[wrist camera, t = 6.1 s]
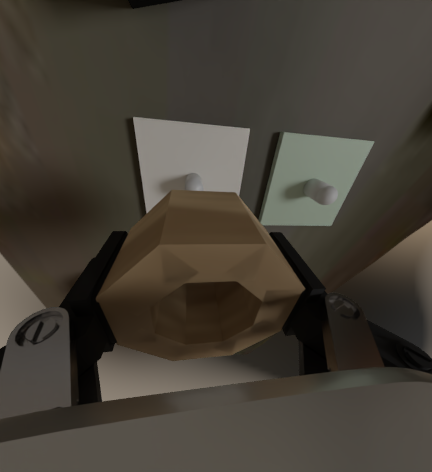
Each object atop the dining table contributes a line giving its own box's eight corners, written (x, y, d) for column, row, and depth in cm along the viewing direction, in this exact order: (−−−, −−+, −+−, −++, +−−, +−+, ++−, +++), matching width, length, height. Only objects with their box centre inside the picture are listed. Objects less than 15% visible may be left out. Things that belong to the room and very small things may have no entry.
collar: (122, 187, 7) (70, 245, 4) (276, 194, 9) (330, 243, 5) (144, 293, 11) (127, 365, 8) (248, 288, 12) (269, 350, 9)
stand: (135, 117, 18) (121, 116, 14) (247, 128, 20) (261, 130, 16) (149, 220, 25) (142, 238, 21) (232, 221, 26) (240, 238, 23)
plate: (280, 131, 21) (304, 135, 16) (367, 140, 22) (410, 145, 18) (257, 221, 27) (271, 241, 23) (327, 222, 29) (351, 240, 25)
